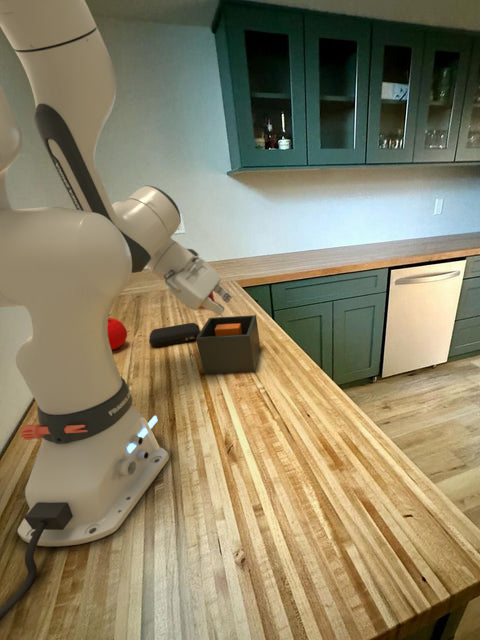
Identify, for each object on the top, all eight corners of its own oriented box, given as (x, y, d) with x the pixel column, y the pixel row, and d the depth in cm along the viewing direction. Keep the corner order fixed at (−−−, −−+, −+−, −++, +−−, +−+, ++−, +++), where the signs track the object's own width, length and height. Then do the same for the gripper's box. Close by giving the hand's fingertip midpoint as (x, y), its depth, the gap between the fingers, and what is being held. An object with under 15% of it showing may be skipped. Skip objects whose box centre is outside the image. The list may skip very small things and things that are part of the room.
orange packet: (244, 360, 86) (238, 328, 82) (220, 361, 87) (214, 329, 82) (245, 355, 89) (240, 323, 85) (223, 356, 89) (217, 324, 85)
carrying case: (150, 351, 96) (202, 341, 100) (147, 341, 95) (200, 331, 99) (151, 337, 105) (199, 329, 109) (148, 328, 104) (197, 320, 108)
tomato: (109, 340, 105) (97, 310, 100) (138, 341, 103) (128, 310, 98) (84, 355, 97) (70, 323, 92) (115, 357, 94) (103, 323, 89)
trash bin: (254, 371, 82) (249, 335, 77) (203, 374, 83) (195, 338, 78) (260, 347, 94) (256, 315, 89) (215, 350, 94) (209, 317, 90)
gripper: (168, 265, 66) (225, 310, 71) (196, 248, 84) (240, 285, 88) (152, 289, 68) (208, 331, 73) (182, 267, 86) (226, 302, 91)
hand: (226, 305), depth 81 cm, fingers open, 8 cm apart
